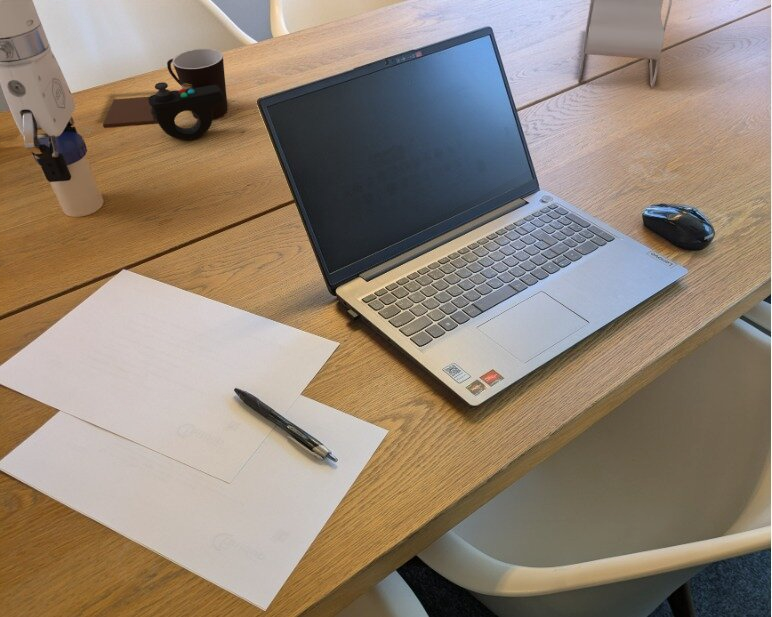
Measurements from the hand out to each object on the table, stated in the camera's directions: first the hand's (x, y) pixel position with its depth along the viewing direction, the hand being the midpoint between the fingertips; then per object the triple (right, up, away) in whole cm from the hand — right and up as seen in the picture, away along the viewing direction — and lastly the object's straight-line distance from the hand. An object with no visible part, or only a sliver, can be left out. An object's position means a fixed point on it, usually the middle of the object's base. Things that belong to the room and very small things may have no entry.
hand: (66, 165), depth 95 cm
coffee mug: (+13, +16, +27) cm, 34 cm away
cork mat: (0, +16, +27) cm, 31 cm away
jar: (0, -5, +5) cm, 7 cm away
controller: (+13, +9, +20) cm, 25 cm away
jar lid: (0, +2, -2) cm, 3 cm away
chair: (+92, +28, +36) cm, 102 cm away
